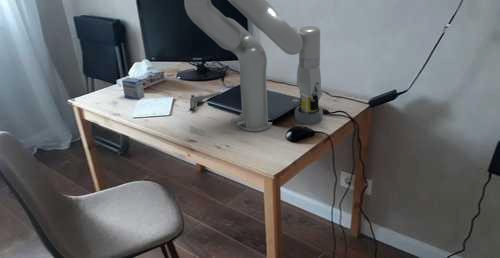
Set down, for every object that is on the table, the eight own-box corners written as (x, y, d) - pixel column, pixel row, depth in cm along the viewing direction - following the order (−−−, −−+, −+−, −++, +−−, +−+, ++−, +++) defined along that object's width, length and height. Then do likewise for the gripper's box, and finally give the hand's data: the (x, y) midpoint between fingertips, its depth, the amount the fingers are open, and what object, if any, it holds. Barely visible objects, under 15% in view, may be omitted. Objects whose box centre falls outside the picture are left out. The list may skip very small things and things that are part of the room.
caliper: (192, 110, 177) (190, 96, 174) (190, 109, 177) (188, 96, 174) (222, 93, 191) (221, 80, 188) (220, 93, 192) (219, 80, 189)
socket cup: (304, 126, 157) (304, 117, 155) (290, 116, 165) (290, 107, 164) (327, 120, 161) (327, 111, 159) (312, 110, 169) (312, 102, 167)
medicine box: (124, 98, 192) (121, 80, 188) (130, 94, 195) (127, 77, 192) (139, 100, 189) (135, 82, 185) (144, 96, 193) (141, 78, 189)
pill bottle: (319, 110, 163) (320, 83, 158) (314, 116, 158) (315, 89, 153) (304, 108, 166) (304, 82, 161) (299, 114, 161) (298, 87, 156)
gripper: (288, 57, 158) (289, 101, 167) (313, 69, 144) (313, 117, 152) (305, 53, 161) (305, 97, 169) (331, 65, 147) (330, 112, 155)
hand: (309, 106), depth 161 cm, fingers closed on pill bottle, 6 cm apart
